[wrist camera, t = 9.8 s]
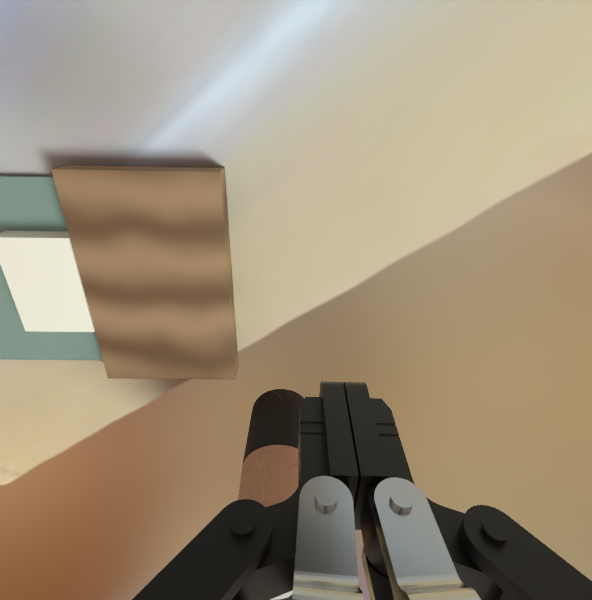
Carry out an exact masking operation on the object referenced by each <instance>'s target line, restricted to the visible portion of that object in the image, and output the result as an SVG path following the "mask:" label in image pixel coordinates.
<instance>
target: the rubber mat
mask: <svg viewBox="0 0 592 600" xmlns="http://www.w3.org/2000/svg"><path fill="white" fill-rule="evenodd" d="M3 231H68V229H67V226H66V222H65V218H64V215H63V211H62V207H61V204H60V200H59V196H58V193H57V189H56V185H55V182H54V178H53V176H0V233H1V232H3ZM0 359H16V360H103V357H102V354H101V350H100V346H99V343H98V339H97V335H96V332H33V331H25V329H24V326H23V323H22V321H21V318H20V315H19V313H18V310H17V307H16V305H15V302H14V299H13V297H12V294H11V291H10V289H9V286H8V284H7V281H6V278H5V276H4V273H3V270H2V268H1V265H0Z"/></svg>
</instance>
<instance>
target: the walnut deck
mask: <svg viewBox="0 0 592 600" xmlns="http://www.w3.org/2000/svg"><path fill="white" fill-rule="evenodd" d="M51 171H52V174H53V178H54V182H55V185H56V189H57V193H58V196H59V200H60V204H61V207H62V211H63V215H64V218H65V222H66V226H67V229H68V233H69V237H70V240H71V244H72V248H73V251H74V255H75V259H76V262H77V266H78V270H79V273H80V277H81V281H82V284H83V288H84V292H85V295H86V299H87V303H88V306H89V310H90V314H91V317H92V321H93V325H94V328H95V332H96V335H97V339H98V343H99V346H100V350H101V354H102V357H103V361H104V365H105V368H106V372H107V376H108V378H142V379H235V377H236V373H237V369H238V355H237V341H236V326H235V311H234V297H233V282H232V267H231V253H230V238H229V224H228V209H227V194H226V180H225V168H224V167H162V166H100V165H65V166H61V167H58V168H54V169H51Z"/></svg>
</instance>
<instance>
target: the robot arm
mask: <svg viewBox="0 0 592 600" xmlns="http://www.w3.org/2000/svg"><path fill="white" fill-rule="evenodd" d="M355 530H362V536H363V543H364V546H363V550H362V563H363V568H364V572H365V577H366V582H367V586H368V591H369V596H370V600H592V581H591V580H589V579H588V578H587V577H585V576H584V575H583V574H581V573H580V572H579V571H578V570H576V569H575V568H574V567H573V566H571V565H570V564H569V563H567V562H566V561H565V560H564V559H562V558H561V557H560V556H559V555H557V554H556V553H555V552H553V551H552V550H551V549H550V548H548V547H547V546H546V545H545V544H543V543H542V542H541V541H539V540H538V539H537V538H535V537H534V536H533V535H532V534H530V533H529V532H528V531H527V530H525V529H524V528H523V527H521V526H520V525H519V524H518V523H516V522H515V521H514V520H513V519H511V518H510V517H509V516H507V515H506V514H505V513H503V512H501V511H500V510H498V509H496V508H493V507H490V506H484V505H477V506H473V507H471V508H470V509H468V510H467V512H466V513H461V512H458V511H455V510H452V509H449V508H446V507H443V506H441V505H438V504H436V503H434V502H432V501H430V500H429V499H428V498H427V497H425V495H424V493H423V492H422V491H421V490H420V489H419V488H418V487H417V486H416V485H415V484H414V482H413V479H412V477H411V473H410V470H409V466H408V463H407V460H406V457H405V453H404V450H403V447H402V444H401V441H400V438H399V435H398V431H397V427H396V426H395V421H394V418H393V415H392V411H391V410H390V408H389V407H388V406H387V405H386V404H385V402H384V401H383V400H382V399H372V398H370V397H369V393H368V389H367V386H366V383H358V382H344V383H343V382H321V384H320V395H319V397H306V398H305V399H304V401H303V403H302V405H301V407H300V412H299V431H298V488H297V489H296V491H295V492H294V493H293V495H292V496H290V497H289V498H288V499H286V500H285V501H283V502H280V503H277V504H274V505H271V506H268V507H265V506H263V505H262V504H261V503H259V502H257V501H255V500H251V499H242V500H237V501H235V502H233V503H231V504H229V505H227V506H226V507H225V508H224V509H223V510H222V511H221V512H220V513H219V514H218V515H217V516H216V517H215V518H214V519H213V520H212V521H211V522H210V523H209V524H208V525H207V526H206V527H205V528H204V529H203V530H202V531H201V532H200V533H199V534H198V535H197V536H196V537H195V538H194V539H193V540H192V541H191V542H190V543H189V544H188V545H187V546H186V547H185V548H184V549H183V550H182V551H181V552H180V553H179V554H178V555H177V556H176V557H175V558H174V559H173V560H172V561H171V562H170V563H169V564H168V565H167V566H166V567H165V568H164V569H163V570H162V571H161V572H159V573H158V574H157V575H156V576H155V578H154V579H152V580H151V581H150V583H149V584H148V585H146V586H145V587H144V588H143V589H142V590H141V592H139V593H138V594H137V595H136V596H135V597H134V598H133V599H132V600H270V599H273V598H275V597H278V596H280V595H282V594H285V593H287V592H290V591H292V590H293V595H292V600H364V599H363V594H362V590H360V588H359V581H358V567H357V552H356V537H355Z"/></svg>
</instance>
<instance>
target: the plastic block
mask: <svg viewBox="0 0 592 600" xmlns="http://www.w3.org/2000/svg"><path fill="white" fill-rule="evenodd" d="M0 265H1V268H2V270H3V273H4V276H5V278H6V281H7V284H8V286H9V289H10V291H11V294H12V297H13V299H14V302H15V305H16V307H17V310H18V313H19V315H20V318H21V321H22V323H23V326H24V329H25V331H33V332H95V328H94V325H93V321H92V317H91V314H90V310H89V306H88V303H87V299H86V295H85V292H84V288H83V284H82V281H81V277H80V273H79V270H78V266H77V262H76V259H75V255H74V251H73V248H72V244H71V240H70V237H69V233H68V231H3V232H1V233H0Z"/></svg>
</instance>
